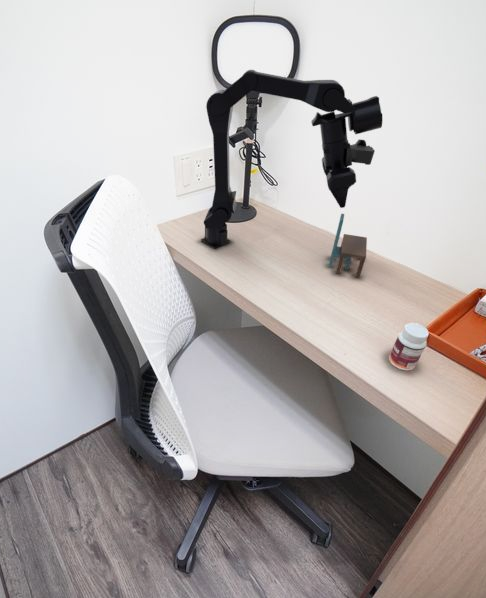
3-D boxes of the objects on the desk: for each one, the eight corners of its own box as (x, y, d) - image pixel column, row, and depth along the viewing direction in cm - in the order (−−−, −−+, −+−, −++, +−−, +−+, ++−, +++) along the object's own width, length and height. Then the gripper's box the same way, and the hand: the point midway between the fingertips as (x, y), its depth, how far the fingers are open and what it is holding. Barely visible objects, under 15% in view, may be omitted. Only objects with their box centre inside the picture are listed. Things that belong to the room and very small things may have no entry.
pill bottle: (388, 350, 72) (402, 318, 67) (414, 356, 71) (430, 324, 66) (388, 367, 69) (402, 334, 64) (415, 374, 68) (432, 341, 62)
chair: (328, 266, 98) (339, 220, 90) (330, 258, 101) (341, 213, 93) (347, 270, 96) (361, 223, 88) (348, 261, 100) (361, 215, 92)
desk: (335, 273, 95) (341, 252, 91) (338, 254, 103) (343, 233, 99) (359, 278, 93) (366, 256, 89) (360, 258, 102) (366, 237, 98)
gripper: (378, 140, 77) (381, 207, 85) (363, 122, 92) (367, 181, 100) (324, 153, 80) (332, 217, 89) (318, 134, 95) (325, 190, 103)
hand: (340, 200), depth 95 cm, fingers open, 9 cm apart
